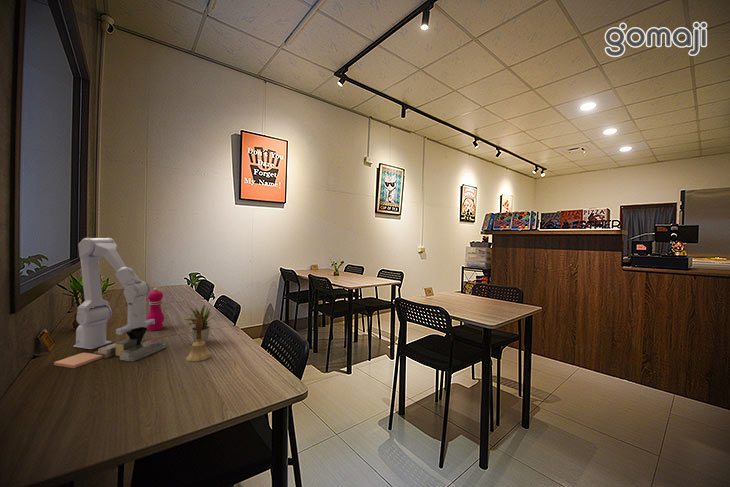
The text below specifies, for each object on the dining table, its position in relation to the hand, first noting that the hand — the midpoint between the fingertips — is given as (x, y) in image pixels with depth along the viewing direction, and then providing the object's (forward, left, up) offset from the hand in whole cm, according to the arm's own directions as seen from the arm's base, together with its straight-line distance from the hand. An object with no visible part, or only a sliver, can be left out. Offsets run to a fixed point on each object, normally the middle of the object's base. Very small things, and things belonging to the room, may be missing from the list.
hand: (136, 346), depth 119 cm
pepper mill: (-16, +23, -1) cm, 28 cm away
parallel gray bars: (0, -2, -1) cm, 2 cm away
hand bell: (+28, +1, -2) cm, 28 cm away
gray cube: (0, -4, -1) cm, 4 cm away
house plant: (+16, +15, -1) cm, 22 cm away
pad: (-9, -14, -1) cm, 17 cm away
